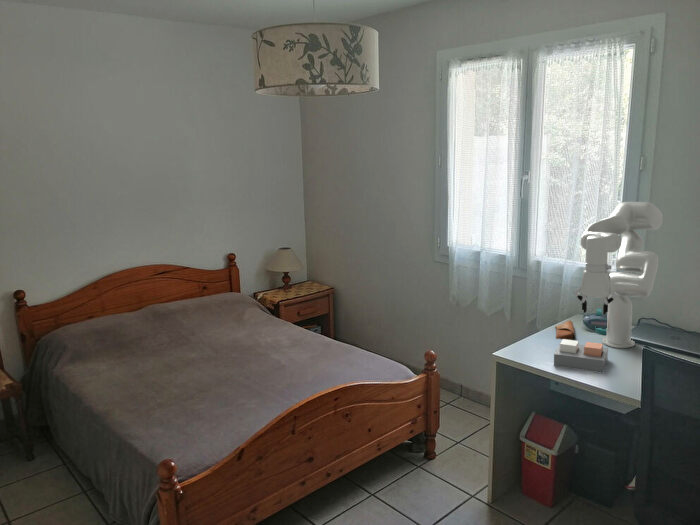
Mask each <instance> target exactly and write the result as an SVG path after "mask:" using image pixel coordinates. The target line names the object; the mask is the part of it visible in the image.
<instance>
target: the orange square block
mask: <svg viewBox="0 0 700 525" xmlns="http://www.w3.org/2000/svg"><path fill="white" fill-rule="evenodd" d="M603 348H604V343H598V342H591V341H586V342H585V346H584V355H592V356H600V357H601V355H602V353H603Z"/></svg>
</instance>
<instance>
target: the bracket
mask: <svg viewBox="0 0 700 525" xmlns="http://www.w3.org/2000/svg"><path fill="white" fill-rule="evenodd" d="M596 316H602V317H603V309H602V308H596V314H595V317H596ZM595 333H596V334H598V335H603V336H607V328H606V329H602V328H596V327H595Z"/></svg>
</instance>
